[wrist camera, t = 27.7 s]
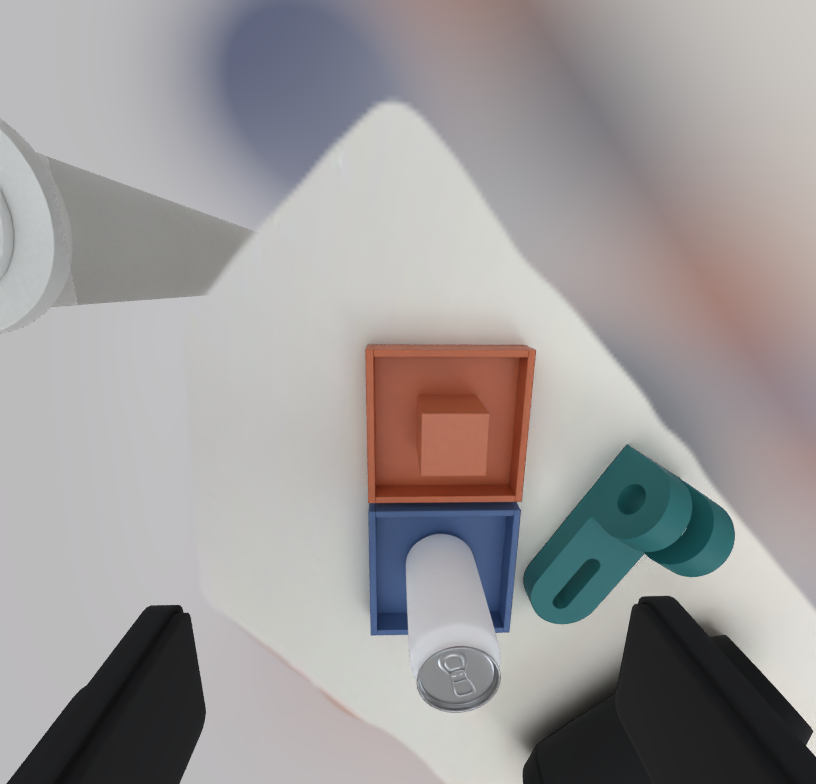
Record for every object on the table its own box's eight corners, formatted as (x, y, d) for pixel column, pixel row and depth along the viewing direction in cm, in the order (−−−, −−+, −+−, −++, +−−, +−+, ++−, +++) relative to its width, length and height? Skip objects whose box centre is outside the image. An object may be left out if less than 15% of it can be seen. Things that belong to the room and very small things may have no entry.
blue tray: (372, 614, 40) (370, 635, 38) (370, 496, 37) (368, 511, 34) (502, 612, 41) (509, 632, 38) (512, 495, 37) (521, 510, 35)
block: (416, 449, 35) (420, 476, 30) (417, 394, 34) (421, 413, 29) (473, 449, 35) (486, 476, 31) (476, 394, 34) (490, 413, 29)
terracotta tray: (369, 488, 37) (368, 503, 34) (367, 344, 33) (365, 349, 31) (513, 487, 37) (521, 501, 35) (526, 345, 34) (536, 350, 31)
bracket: (627, 444, 36) (688, 487, 29) (681, 479, 37) (754, 530, 30) (510, 587, 40) (537, 659, 32) (562, 615, 41) (601, 691, 34)
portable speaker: (557, 778, 47) (599, 905, 38) (506, 734, 45) (536, 857, 36) (745, 659, 44) (846, 767, 34) (699, 605, 41) (791, 703, 32)
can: (461, 522, 37) (492, 630, 26) (481, 577, 39) (517, 702, 27) (396, 543, 38) (396, 659, 26) (417, 596, 39) (427, 728, 28)
